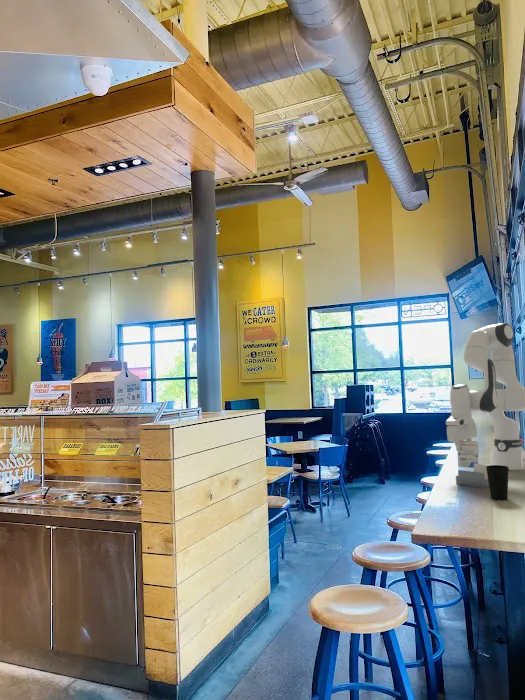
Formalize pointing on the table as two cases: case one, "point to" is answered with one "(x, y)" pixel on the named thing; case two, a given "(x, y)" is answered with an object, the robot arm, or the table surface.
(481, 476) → the gray stepped block
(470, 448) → the ink box
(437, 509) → the table surface
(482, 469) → the pusher
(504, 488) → the cup
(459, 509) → the table surface
